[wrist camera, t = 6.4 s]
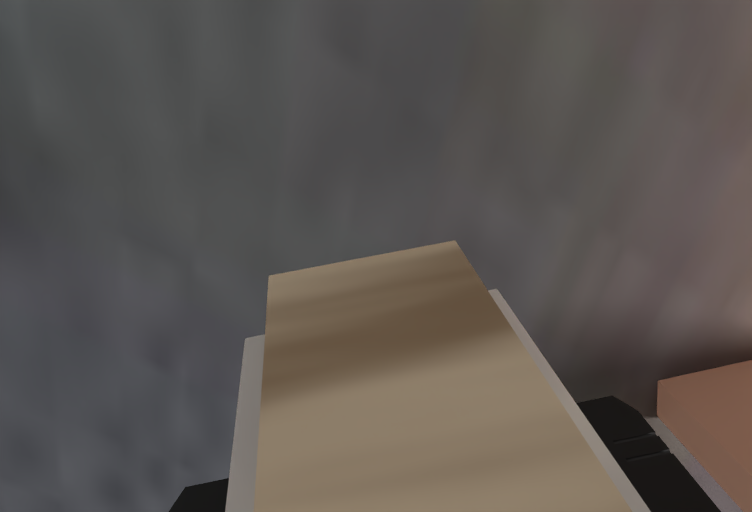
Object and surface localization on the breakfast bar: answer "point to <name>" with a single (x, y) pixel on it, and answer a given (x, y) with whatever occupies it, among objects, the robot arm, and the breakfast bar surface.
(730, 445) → the tile
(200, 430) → the breakfast bar surface
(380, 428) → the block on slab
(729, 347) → the breakfast bar surface
